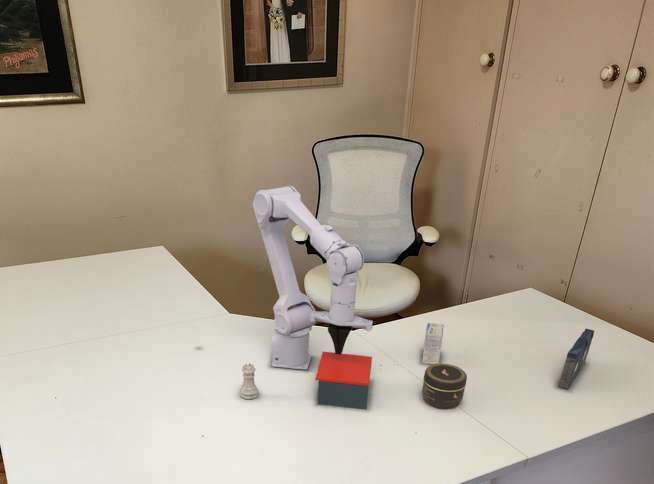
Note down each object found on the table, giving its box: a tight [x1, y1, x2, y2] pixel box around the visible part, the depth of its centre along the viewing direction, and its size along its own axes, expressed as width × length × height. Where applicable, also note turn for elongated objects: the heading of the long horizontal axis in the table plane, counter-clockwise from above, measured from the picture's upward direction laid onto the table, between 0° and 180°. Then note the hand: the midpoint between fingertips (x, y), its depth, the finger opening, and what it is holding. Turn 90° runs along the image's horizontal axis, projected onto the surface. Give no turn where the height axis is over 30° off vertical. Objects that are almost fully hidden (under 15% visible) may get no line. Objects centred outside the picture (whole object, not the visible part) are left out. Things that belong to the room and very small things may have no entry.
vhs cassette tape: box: [558, 328, 595, 390], centre depth 161 cm, size 18×3×10 cm, turn 145°
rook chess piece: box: [239, 363, 259, 401], centre depth 147 cm, size 4×4×8 cm
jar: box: [421, 363, 468, 410], centre depth 149 cm, size 10×10×8 cm
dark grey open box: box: [317, 363, 373, 410], centre depth 150 cm, size 12×14×6 cm
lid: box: [314, 351, 373, 387], centre depth 148 cm, size 12×14×1 cm
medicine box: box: [421, 322, 444, 365], centre depth 167 cm, size 8×4×9 cm, turn 168°
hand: (338, 352), depth 150 cm, fingers closed
